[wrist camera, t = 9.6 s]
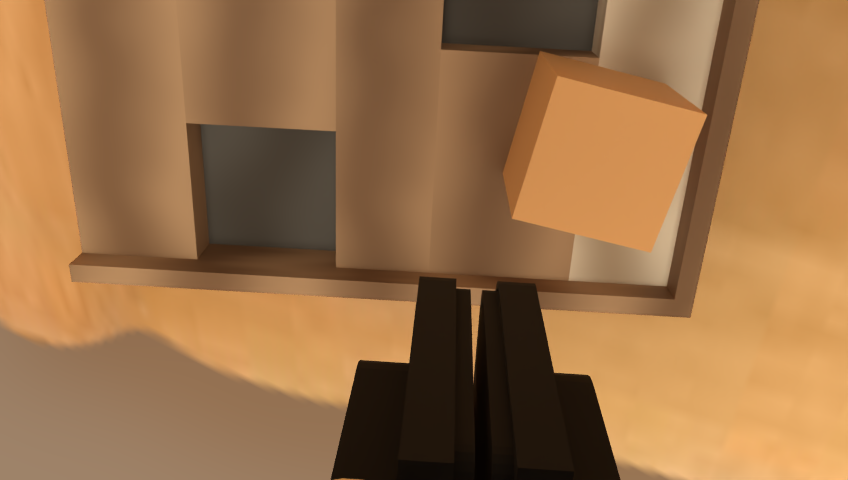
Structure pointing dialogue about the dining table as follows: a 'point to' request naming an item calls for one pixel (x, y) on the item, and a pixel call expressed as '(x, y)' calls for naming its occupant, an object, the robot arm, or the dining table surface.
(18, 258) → the dining table surface
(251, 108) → the box
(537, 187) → the orange block
